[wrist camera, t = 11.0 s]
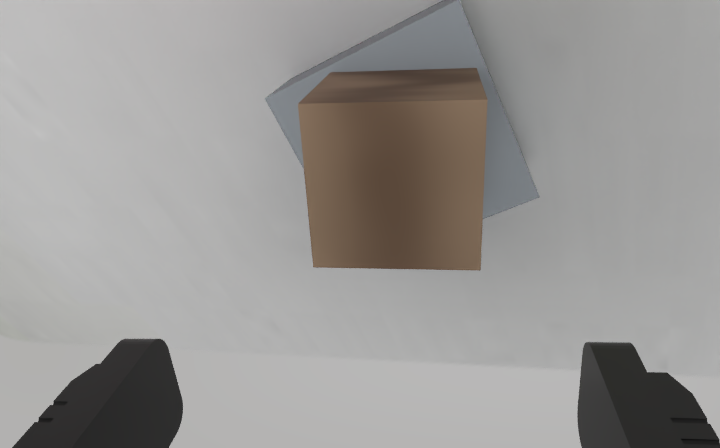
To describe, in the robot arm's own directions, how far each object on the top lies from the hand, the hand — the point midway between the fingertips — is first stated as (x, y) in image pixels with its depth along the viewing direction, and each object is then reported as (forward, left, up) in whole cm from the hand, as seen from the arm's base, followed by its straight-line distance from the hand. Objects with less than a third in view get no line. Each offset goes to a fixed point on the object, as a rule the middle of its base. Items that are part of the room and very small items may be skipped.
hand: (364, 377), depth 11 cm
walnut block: (0, 0, -15) cm, 15 cm away
